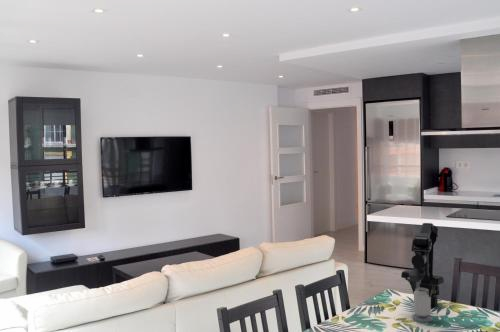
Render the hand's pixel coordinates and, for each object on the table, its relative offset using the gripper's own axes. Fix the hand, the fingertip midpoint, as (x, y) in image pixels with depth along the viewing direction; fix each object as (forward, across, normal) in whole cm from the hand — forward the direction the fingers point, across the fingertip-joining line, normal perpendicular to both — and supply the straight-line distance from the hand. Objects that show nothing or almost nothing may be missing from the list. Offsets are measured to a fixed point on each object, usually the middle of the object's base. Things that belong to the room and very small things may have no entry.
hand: (422, 295), depth 227 cm
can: (+9, 0, 0) cm, 9 cm away
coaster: (+11, 0, 0) cm, 11 cm away
